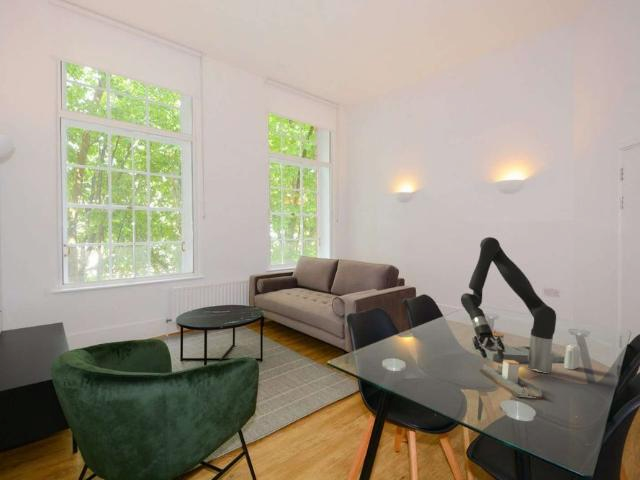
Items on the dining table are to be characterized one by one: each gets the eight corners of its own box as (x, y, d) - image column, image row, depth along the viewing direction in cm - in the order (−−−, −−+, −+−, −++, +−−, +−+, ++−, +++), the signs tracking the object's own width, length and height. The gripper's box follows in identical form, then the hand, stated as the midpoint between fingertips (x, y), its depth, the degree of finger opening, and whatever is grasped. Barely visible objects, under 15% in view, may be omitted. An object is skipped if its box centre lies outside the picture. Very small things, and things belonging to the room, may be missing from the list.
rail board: (502, 372, 159) (503, 365, 159) (544, 398, 134) (545, 390, 134) (479, 371, 158) (480, 364, 158) (517, 397, 132) (518, 389, 132)
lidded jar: (485, 346, 201) (486, 331, 201) (482, 341, 212) (483, 327, 211) (504, 349, 198) (506, 334, 198) (500, 344, 208) (501, 329, 208)
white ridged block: (570, 364, 180) (572, 342, 180) (579, 367, 177) (581, 344, 176) (562, 367, 174) (564, 344, 174) (571, 370, 171) (574, 347, 171)
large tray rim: (503, 350, 197) (503, 343, 197) (527, 362, 177) (528, 355, 177) (471, 348, 195) (472, 341, 195) (492, 361, 175) (493, 353, 175)
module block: (512, 380, 148) (513, 360, 148) (517, 383, 144) (519, 363, 144) (501, 379, 148) (503, 359, 148) (506, 383, 144) (508, 362, 144)
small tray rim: (542, 352, 200) (543, 347, 200) (565, 362, 184) (565, 356, 184) (518, 350, 198) (519, 345, 198) (538, 360, 182) (539, 355, 182)
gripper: (472, 322, 166) (483, 353, 154) (498, 324, 167) (512, 355, 156) (465, 330, 171) (476, 360, 160) (491, 331, 172) (503, 362, 161)
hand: (493, 358), depth 158 cm, fingers open, 8 cm apart
